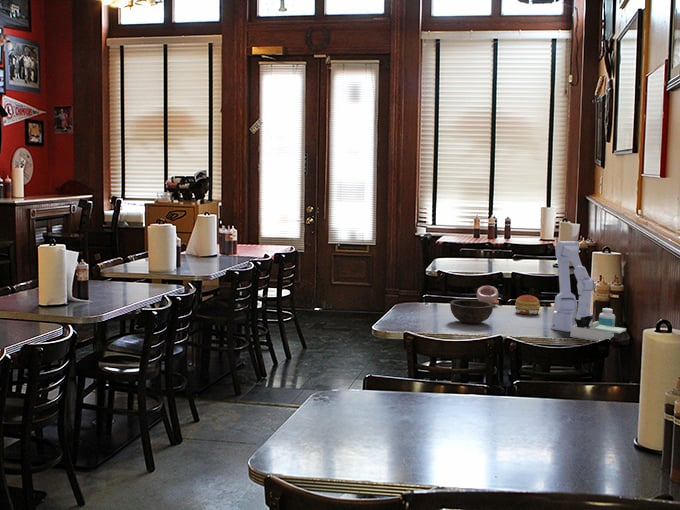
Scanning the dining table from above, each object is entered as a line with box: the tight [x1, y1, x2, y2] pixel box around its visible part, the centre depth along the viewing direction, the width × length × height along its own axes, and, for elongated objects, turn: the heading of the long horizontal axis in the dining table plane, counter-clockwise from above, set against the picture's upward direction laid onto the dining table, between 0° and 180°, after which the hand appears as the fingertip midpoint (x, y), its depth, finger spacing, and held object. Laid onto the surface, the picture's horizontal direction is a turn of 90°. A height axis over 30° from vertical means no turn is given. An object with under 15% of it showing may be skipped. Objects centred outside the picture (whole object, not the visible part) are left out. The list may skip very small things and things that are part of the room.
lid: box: [590, 320, 627, 334], centre depth 394 cm, size 14×9×2 cm, turn 53°
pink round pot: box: [476, 284, 499, 305], centre depth 480 cm, size 12×12×11 cm
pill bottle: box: [598, 307, 616, 339], centre depth 405 cm, size 8×7×14 cm
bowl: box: [449, 299, 494, 325], centre depth 428 cm, size 22×22×10 cm
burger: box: [514, 294, 541, 315], centre depth 458 cm, size 13×14×10 cm
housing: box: [569, 323, 612, 342], centre depth 399 cm, size 16×10×6 cm, turn 53°
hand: (582, 332), depth 401 cm, fingers open, 5 cm apart
